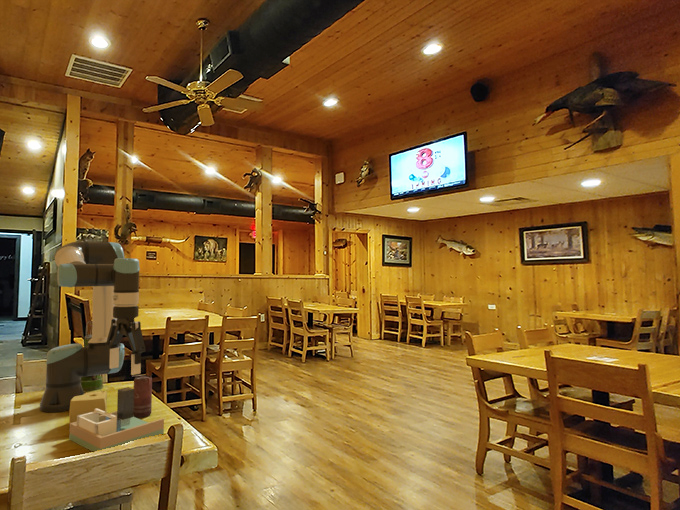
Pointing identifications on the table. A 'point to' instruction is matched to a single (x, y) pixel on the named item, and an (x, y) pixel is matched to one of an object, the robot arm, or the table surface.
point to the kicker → (124, 407)
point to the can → (142, 396)
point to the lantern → (91, 381)
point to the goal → (97, 422)
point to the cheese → (87, 404)
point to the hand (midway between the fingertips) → (124, 371)
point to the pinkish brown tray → (126, 434)
